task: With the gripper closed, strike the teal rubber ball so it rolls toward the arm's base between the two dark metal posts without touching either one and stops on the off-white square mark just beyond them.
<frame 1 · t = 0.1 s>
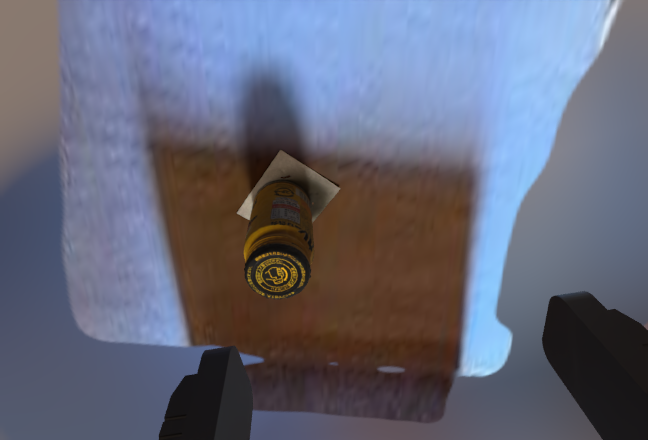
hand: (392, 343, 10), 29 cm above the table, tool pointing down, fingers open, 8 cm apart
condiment: (288, 199, 41), on the table
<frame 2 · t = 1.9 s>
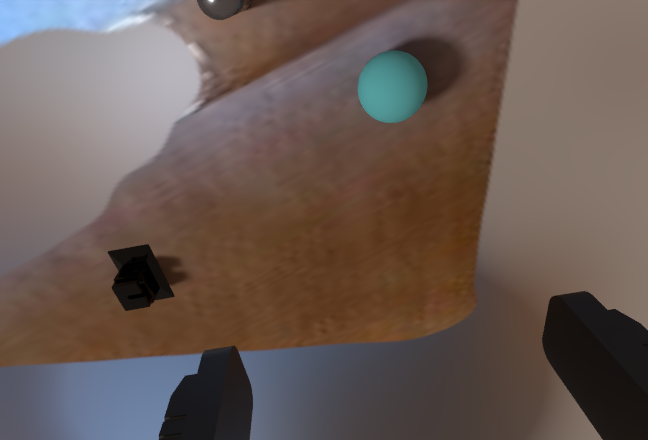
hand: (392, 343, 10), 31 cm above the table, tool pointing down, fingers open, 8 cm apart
ball: (392, 87, 34), on the table
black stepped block: (144, 270, 47), on the table
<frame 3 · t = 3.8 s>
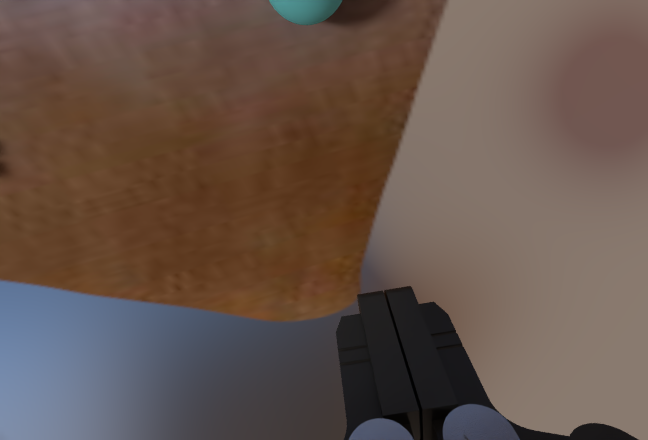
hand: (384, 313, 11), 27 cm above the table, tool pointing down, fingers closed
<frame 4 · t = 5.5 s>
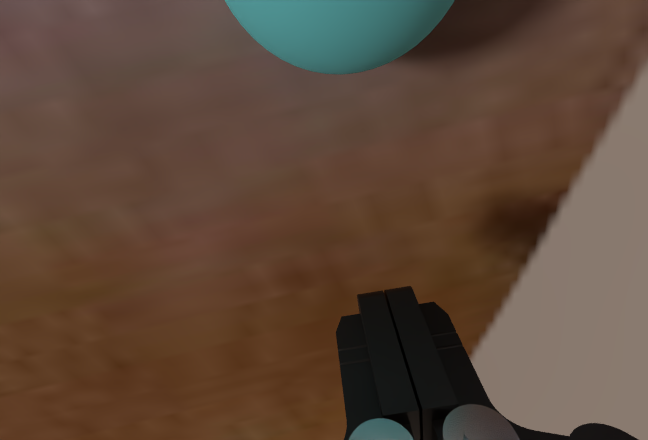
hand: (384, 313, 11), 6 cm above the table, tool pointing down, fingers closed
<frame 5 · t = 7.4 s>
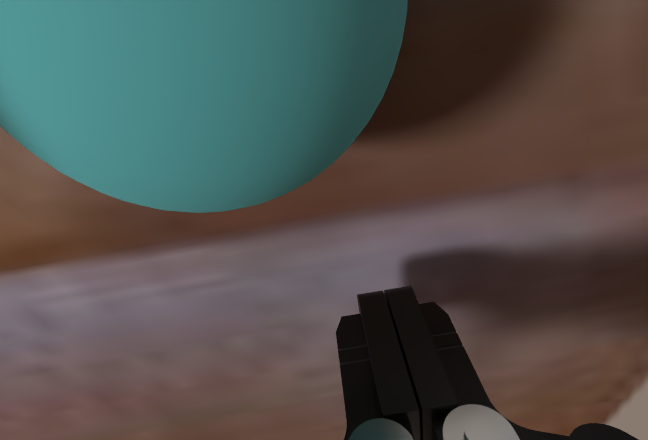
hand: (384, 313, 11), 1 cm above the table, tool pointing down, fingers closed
ball: (197, 5, 6), on the table
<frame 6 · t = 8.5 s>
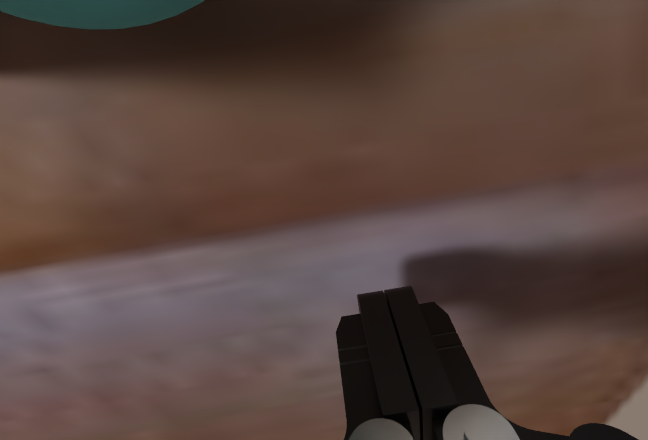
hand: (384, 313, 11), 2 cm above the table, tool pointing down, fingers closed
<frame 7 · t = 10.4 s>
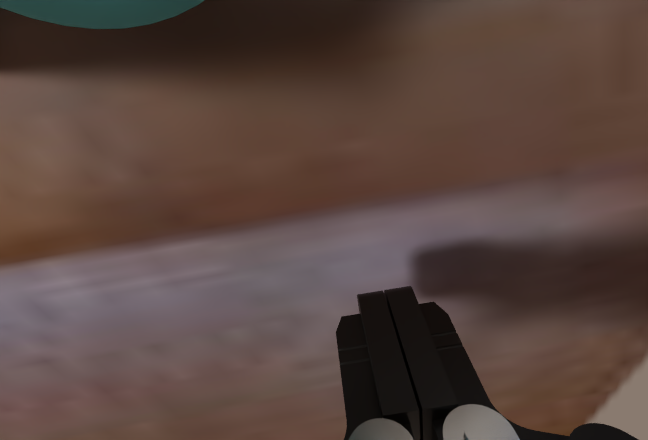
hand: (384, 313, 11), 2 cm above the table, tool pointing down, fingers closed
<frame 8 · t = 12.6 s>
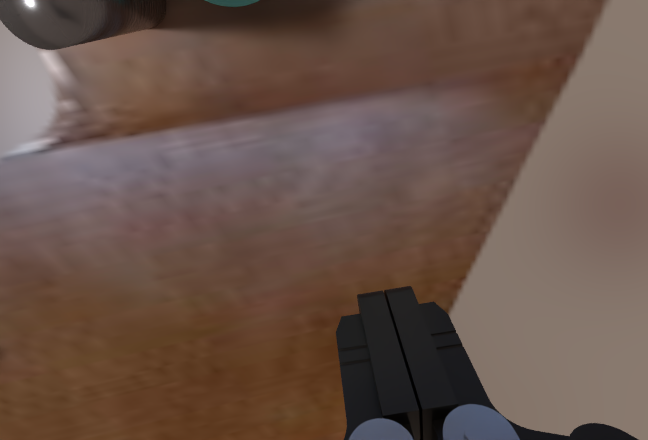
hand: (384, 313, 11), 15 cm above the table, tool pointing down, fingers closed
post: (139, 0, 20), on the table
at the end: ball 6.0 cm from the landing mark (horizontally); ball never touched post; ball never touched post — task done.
